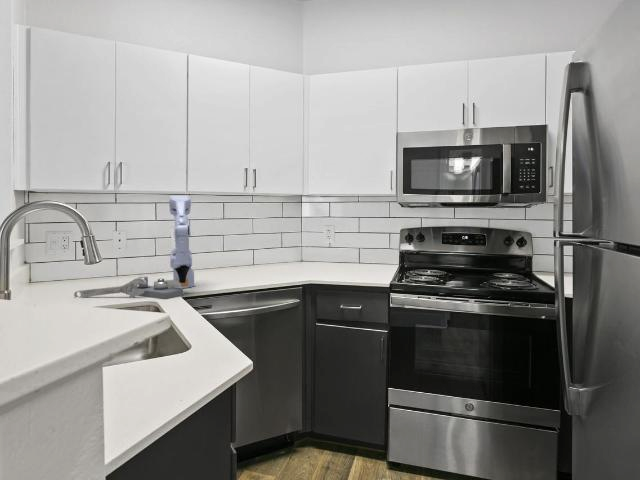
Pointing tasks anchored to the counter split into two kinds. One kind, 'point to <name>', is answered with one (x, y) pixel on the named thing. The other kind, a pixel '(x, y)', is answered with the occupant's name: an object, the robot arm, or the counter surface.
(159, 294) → the pin board
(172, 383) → the counter surface
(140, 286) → the steel pin
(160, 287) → the silver elongated block
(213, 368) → the counter surface
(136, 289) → the wrench
